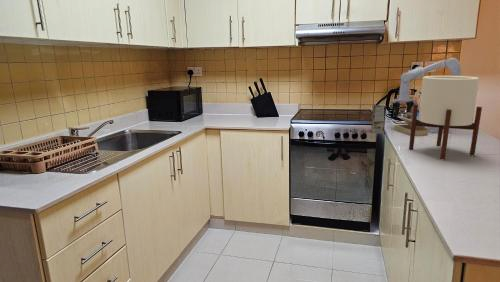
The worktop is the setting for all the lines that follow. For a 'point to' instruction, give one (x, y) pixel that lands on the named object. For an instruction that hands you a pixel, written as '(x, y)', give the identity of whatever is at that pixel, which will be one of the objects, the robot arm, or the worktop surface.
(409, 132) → the tan tray
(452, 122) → the plant pot with stand
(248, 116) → the worktop surface
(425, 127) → the carton lid
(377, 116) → the coffee box
